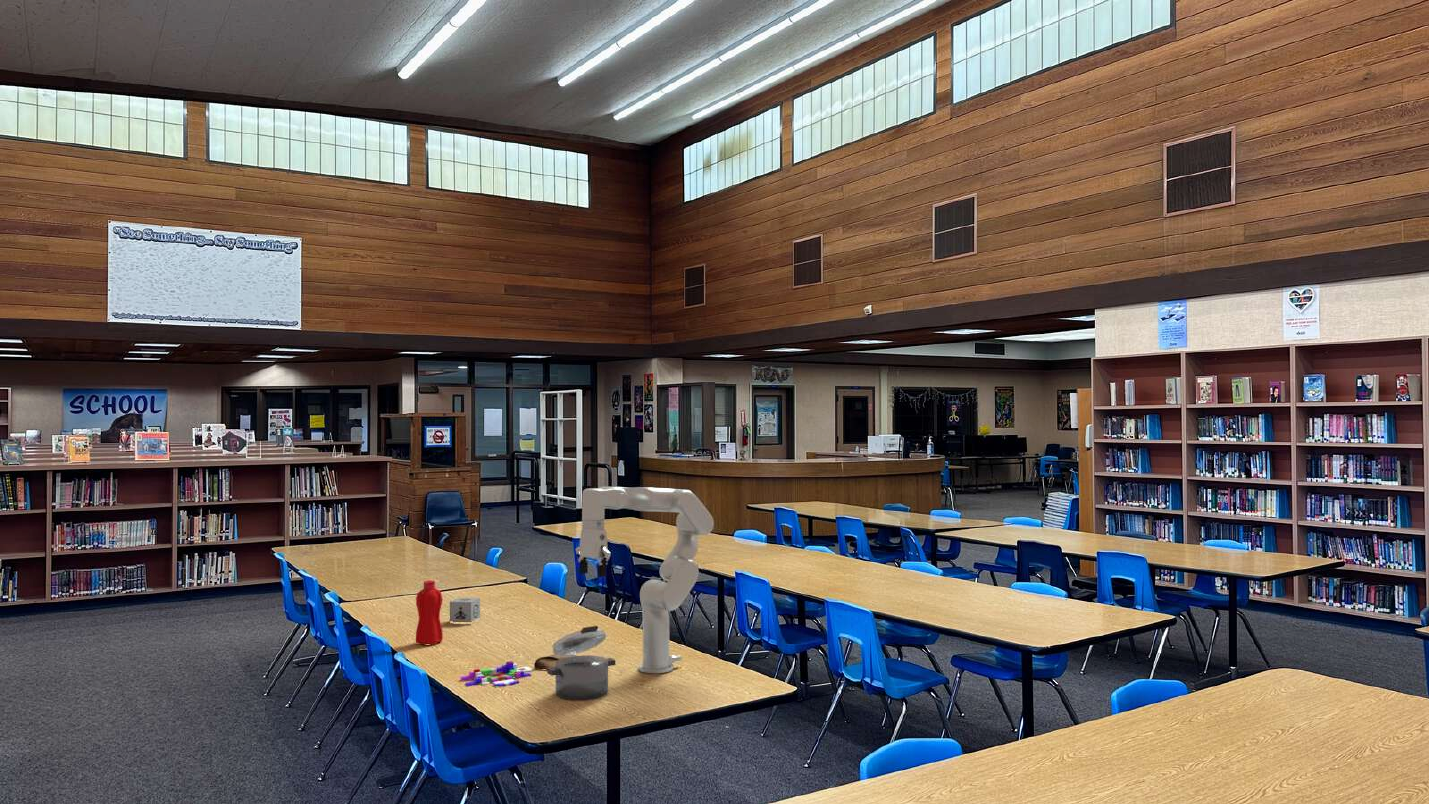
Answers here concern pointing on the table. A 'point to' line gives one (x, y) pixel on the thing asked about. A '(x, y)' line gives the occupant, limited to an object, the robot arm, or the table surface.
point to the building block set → (488, 674)
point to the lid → (579, 641)
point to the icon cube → (464, 609)
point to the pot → (581, 677)
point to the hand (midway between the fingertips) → (592, 575)
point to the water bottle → (429, 614)
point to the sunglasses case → (548, 661)
